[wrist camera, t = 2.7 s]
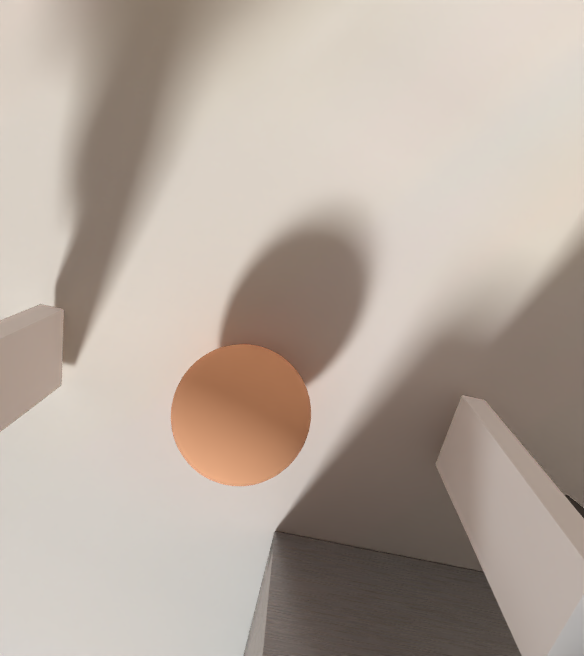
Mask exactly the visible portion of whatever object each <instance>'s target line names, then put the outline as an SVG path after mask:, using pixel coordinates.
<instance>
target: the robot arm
mask: <svg viewBox="0 0 584 656" xmlns="http://www.w3.org/2000/svg"><path fill="white" fill-rule="evenodd" d="M63 327H64V309H61V308H56V307H51V306H47V305H42V304H39V305H37V306H35V307H32V308H30V309H27V310H25V311H22V312H20V313H17V314H15V315H12V316H10V317H7V318H5V319H2V320H0V432H1V431H2V430H4V429H5V428H6V427H7V426H9V425H10V424H11V423H13V422H14V421H15V420H17V419H18V418H19V417H21V416H22V415H23V414H25V413H26V412H27V411H28V410H30V409H31V408H32V407H34V406H35V405H36V404H38V403H39V402H40V401H42V400H43V399H44V398H46V397H47V396H48V395H49V394H51V393H52V392H53V391H55V390H56V389H57V388H59V387H60V386H61V385H62V356H63ZM435 465H436V467H437V470H438V472H439V474H440V476H441V478H442V481H443V483H444V485H445V487H446V490H447V492H448V494H449V496H450V498H451V501H452V503H453V505H454V507H455V509H456V512H457V514H458V516H459V518H460V521H461V523H462V525H463V527H464V529H465V532H466V534H467V536H468V538H469V540H470V543H471V545H472V547H473V549H474V552H475V554H476V556H477V558H478V560H479V563H480V565H481V567H482V569H483V571H484V574H485V576H486V578H487V580H488V583H489V585H490V587H491V589H492V591H493V594H494V596H495V598H496V600H497V602H498V605H499V607H500V609H501V611H502V614H503V616H504V618H505V620H506V622H507V625H508V627H509V629H510V631H511V633H512V636H513V638H514V640H515V642H516V645H517V647H518V649H519V651H520V653H521V656H584V508H583V507H581V506H580V505H579V504H578V503H576V502H575V501H574V500H573V499H571V498H570V497H569V496H568V495H564V494H563V493H562V492H561V491H560V489H559V488H558V487H557V486H556V485H555V483H554V482H553V481H552V480H551V479H550V477H549V476H548V475H547V474H546V473H545V471H544V470H543V469H542V468H541V467H540V465H539V464H538V463H537V462H536V461H535V459H534V458H533V457H532V456H531V455H530V453H529V452H528V451H527V450H526V449H525V447H524V446H523V445H522V444H521V443H520V441H519V440H518V439H517V438H516V437H515V435H514V434H513V433H512V432H511V431H510V429H509V428H508V427H507V426H506V425H505V424H504V422H503V421H502V420H501V419H500V418H499V416H498V415H497V414H496V413H495V412H494V410H493V409H492V408H491V407H490V406H489V404H488V403H487V402H486V401H485V400H483V399H479V398H474V397H469V396H465V395H462V396H461V399H460V401H459V404H458V407H457V409H456V412H455V414H454V417H453V419H452V422H451V425H450V427H449V430H448V432H447V435H446V438H445V440H444V443H443V445H442V448H441V451H440V453H439V456H438V458H437V461H436V464H435Z"/></svg>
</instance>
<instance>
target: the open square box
mask: <svg viewBox="0 0 584 656" xmlns="http://www.w3.org/2000/svg"><path fill="white" fill-rule="evenodd" d="M244 656H521V653H520V651H519V649H518V647H517V645H516V642H515V640H514V638H513V636H512V633H511V631H510V629H509V627H508V625H507V622H506V620H505V618H504V616H503V614H502V611H501V609H500V607H499V605H498V602H497V600H496V598H495V596H494V594H493V591H492V589H491V587H490V585H489V583H488V580H487V578H486V576H485V574H484V572H479V571H474V570H469V569H464V568H459V567H454V566H448V565H443V564H438V563H433V562H428V561H423V560H418V559H413V558H408V557H403V556H398V555H393V554H388V553H383V552H377V551H372V550H367V549H362V548H357V547H352V546H347V545H342V544H337V543H332V542H327V541H322V540H317V539H312V538H306V537H301V536H296V535H291V534H286V533H281V532H276V531H275V532H274V536H273V540H272V544H271V548H270V552H269V556H268V560H267V564H266V568H265V572H264V576H263V580H262V584H261V588H260V592H259V596H258V600H257V604H256V608H255V612H254V616H253V620H252V624H251V628H250V632H249V636H248V640H247V644H246V648H245V652H244Z"/></svg>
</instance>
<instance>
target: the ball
mask: <svg viewBox="0 0 584 656" xmlns="http://www.w3.org/2000/svg"><path fill="white" fill-rule="evenodd" d="M310 421H311V407H310V399H309V395H308V391H307V389H306V386H305V384H304V382H303V380H302V378H301V376H300V375H299V373H298V372H297V371H296V369H295V368H294V367H293V366H292V365H291V364H290V363H289V362H288V361H287V360H286V359H284V358H283V357H282V356H280V355H279V354H277V353H275V352H274V351H272V350H269V349H267V348H264V347H261V346H257V345H250V344H237V345H229V346H225V347H221V348H218V349H216V350H213V351H212V352H210V353H208V354H206V355H204V356H203V357H202V358H200V359H199V360H197V361H196V362H195V363H194V364H193V365H192V366H191V367H190V368H189V369H188V371H187V372H186V373H185V375H184V376H183V377H182V379H181V381H180V383H179V385H178V387H177V389H176V392H175V394H174V398H173V403H172V408H171V425H172V431H173V436H174V439H175V442H176V444H177V447H178V449H179V451H180V452H181V454H182V455H183V457H184V458H185V460H186V461H187V462H188V463H189V464H190V465H191V467H192V468H193V469H195V470H196V471H197V472H198V473H200V474H201V475H203V476H204V477H206V478H208V479H210V480H212V481H215V482H218V483H221V484H225V485H231V486H249V485H254V484H258V483H261V482H264V481H266V480H268V479H271V478H273V477H274V476H276V475H278V474H279V473H281V472H282V471H283V470H284V469H286V468H287V467H288V466H289V465H290V464H291V463H292V462H293V461H294V459H295V458H296V457H297V455H298V454H299V452H300V451H301V449H302V447H303V445H304V443H305V441H306V438H307V435H308V432H309V427H310Z"/></svg>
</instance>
